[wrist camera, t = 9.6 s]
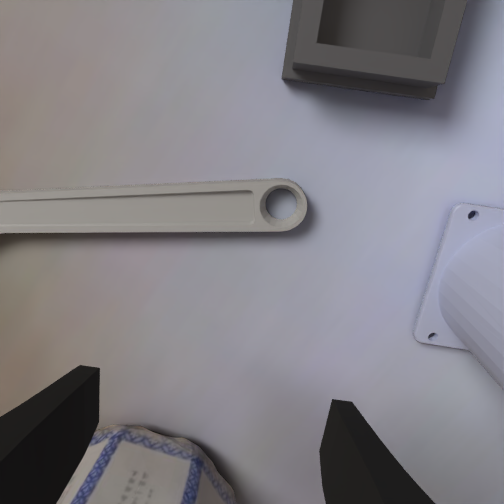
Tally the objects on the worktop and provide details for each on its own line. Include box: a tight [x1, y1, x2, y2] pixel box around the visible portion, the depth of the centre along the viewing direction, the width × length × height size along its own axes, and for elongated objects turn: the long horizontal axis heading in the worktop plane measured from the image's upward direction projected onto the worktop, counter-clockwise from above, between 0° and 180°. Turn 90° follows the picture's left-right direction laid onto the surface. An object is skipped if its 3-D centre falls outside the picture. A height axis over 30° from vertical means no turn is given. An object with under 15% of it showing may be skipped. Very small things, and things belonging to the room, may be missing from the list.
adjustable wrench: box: [0, 178, 307, 234], centre depth 21 cm, size 25×6×2 cm, turn 88°
